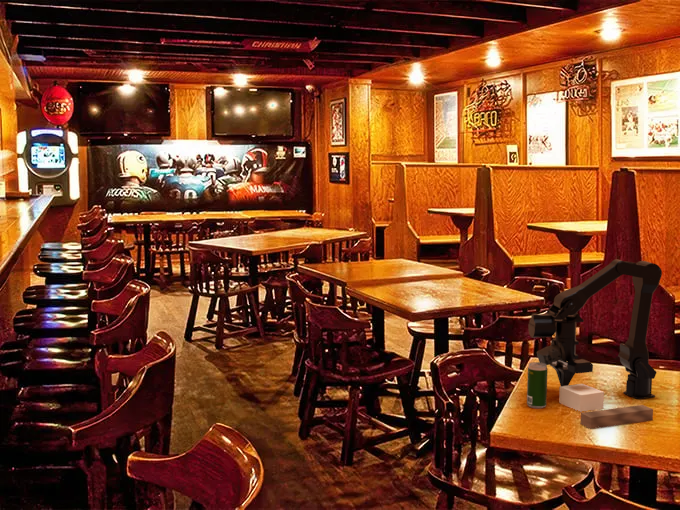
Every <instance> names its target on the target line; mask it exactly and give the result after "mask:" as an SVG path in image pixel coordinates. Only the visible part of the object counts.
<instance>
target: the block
mask: <svg viewBox="0 0 680 510" xmlns="http://www.w3.org/2000/svg"><path fill="white" fill-rule="evenodd" d="M558 397H559V400H558V401H559V404H561V405H563V406H565V407H568V408H571V409H572V408H573V409H572V410H574V409H575V410H574V411H577V410H578V411H577V412H579V411H580V412H579V413H583V412H582V411H584V412H589V411H588V410H591V411H596V410H595V409H597V410H602V409H603V410H604V401H605V400H604V399H605V398H604V397H605V392H604V391H603V390H600V389H597V388H595V387H593V386H590V385H587V384H584V383H577V384H569V385H568V386H561V385H560V386H559V396H558Z"/></svg>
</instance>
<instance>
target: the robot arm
mask: <svg viewBox="0 0 680 510" xmlns="http://www.w3.org/2000/svg"><path fill="white" fill-rule="evenodd" d="M622 275H624V276H629V277H630V276H631V277H632V283H633V284H632V285H633V287H634V292H635V293H634V299H633V306H632V312H631V321H630V325H629V326H630V327H629V332H628V334H629V335H628V337H627V340H626V341H625V343H622V342H621V343H619V353H618V355H617V357H619V362H620V363H621V365H622V366H623V367H624V368H625V371H626V372H627V373H629V374H627V379H626V382H625V383H626V387H625V389H626V390H623V392H622V393H623V394H625V395H626V396H629V397H632V398H634V399H636V400H643V399H649V398H650V399H651V398H655V397H656V394H653V393H652V387H653V379H655V377H656V375H657V371H656V369H655V368H654V367H652V366H651V365H650V363H649V358H650V357H649V350H648V346H647V341H646V340H647V334H648V328H649V320H650V314H651V308H652V300H653V294H654V292H655V291H656V290H657V288H658V287H659V285H660V282H661V279H662V276H663V270H662V268H661V267H660V266H659V265H658V264H657V263H653V262H650V261H647V260H640V261H637V262H633V261H624V260H621V259H618V258H617V259H613V260H612V261H611V262H610V263H609V264H608V265H606V266H605V267H603V268H602V269H601V270H599V271H597V272H596V273H595V274H593V275H592V276H591V277H589V278H588V279H586V280H585V281H582V283H580V284H579V285H577V286H574V287H570V288H568V289H566V290H563V291H561V292H560V293H557V295H555V297H554V299H553V303H552V304H551V306H550V307H548V310H547V311H546V312H545V314H544V313H542V314H541V313H531V317H530V319H529V323H528V324H527V325H528V334H529V336H530V338H552V337H553V336H554V337H555V338H552V339H551V341H550V345H547V346H544V347H543V348H541V349H539V350H537V351H536V355H537V360H538V362H540V363H545V364H547V366H550V367H551V368H552V369H554V370H555V372H556V375H557V378H558V381H559V385H560V386H568V385H570V383H571V381H572V379H573V377H574V376H575V375H576V374H578V375H579V374H584V373H586V374H587V373H592V372H594V365H593V363H592V362H591V361H588V360H586V359H584V358H581V359H579V355H578V354H577V353H576V346H578V345H580V344H579V343H580V341H579V340H577V337H576V336H577V323H584V322H585V320H584V318H582V317H581V316H580V314H579V313H578V312H579V311H580V310H581V309H582V308H583V307H584V306H585V305H586V303H587V302H588V301H589V299H590V298H591V297H593V296H594V295H596V294H597V293H598V292H599V291H601V290H602V289H604V288H606V287H607V286H608V285H610V284H611V283H613V282H614V281H615V280H617V279H618V278H620V277H622Z"/></svg>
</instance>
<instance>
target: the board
mask: <svg viewBox="0 0 680 510" xmlns="http://www.w3.org/2000/svg"><path fill="white" fill-rule="evenodd" d="M653 418H654V408H652V407H649V406H647V405H644V404H640V405H633V406H632V405H631V406H622V407H615V408H608V409H603V410H602V409H599V410H591V411H584V412H580V425H581V424H582V425H581V426H583V425H584V426H583V427H585V426H586V428H587V427H588V428H587V429H589V428H590V429H589V430H592V429H591V428H593V429H599V427H601V428H606V427H607V426H608V427H613V426H614V425H615V426H621V425H628V424H634V423H635V424H636V423H643V422H649V421H653Z"/></svg>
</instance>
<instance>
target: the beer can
mask: <svg viewBox="0 0 680 510" xmlns="http://www.w3.org/2000/svg"><path fill="white" fill-rule="evenodd" d="M548 369H549V368H548V365H547V364H545V363H540V362H539V361H533V362H529V363H528V366H527V382H526V388H527V389H526V404H527V407H529V408H533V409H538V410H539V409H540V410H541V409H544V408H545V409H546V406H547V395H548V392H547V391H548V371H549V370H548Z"/></svg>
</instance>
